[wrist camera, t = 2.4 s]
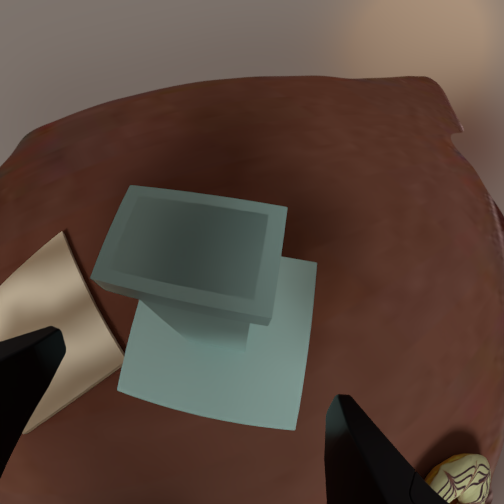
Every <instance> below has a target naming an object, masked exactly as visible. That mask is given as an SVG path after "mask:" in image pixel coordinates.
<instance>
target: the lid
mask: <svg viewBox="0 0 504 504" xmlns="http://www.w3.org/2000/svg"><path fill="white" fill-rule="evenodd" d="M287 208H288V207H284V206H278V205H272V204H266V203H260V202H254V201H248V200H242V199H235V198H229V197H222V196H215V195H208V194H201V193H194V192H186V191H178V190H170V189H162V188H153V187H144V186H134V185H130V187H129V189H128V191H127V193H126V195H125V197H124V199H123V201H122V203H121V205H120V207H119V209H118V211H117V213H116V216H115V218H114V220H113V222H112V225H111V227H110V229H109V232H108V234H107V236H106V239H105V241H104V243H103V246H102V248H101V251H100V253H99V256H98V259H97V261H96V264H95V266H94V269H93V272H92V275H91V277H90V278H91V279H92V280H93V281H94V282H96V283H97V284H98V285H99V286H100V287H102V288H103V289H104V290H106V291H110V292H114V293H117V294H121V295H125V296H128V297H132V298H136V299H139V303H138V306H137V310H136V313H135V317H134V320H133V324H132V328H131V332H130V335H129V339H128V343H127V347H126V351H125V356H124V360H123V364H122V369H121V373H120V378H119V383H118V388H117V391H120V392H123V393H125V394H128V395H131V396H134V397H137V398H140V399H143V400H146V401H149V402H152V403H155V404H158V405H162V406H165V407H169V408H172V409H176V410H180V411H183V412H187V413H191V414H195V415H200V416H204V417H209V418H213V419H218V420H223V421H228V422H234V423H240V424H246V425H253V426H260V427H267V428H276V429H286V430H295V428H296V423H297V417H298V412H299V406H300V400H301V394H302V388H303V381H304V375H305V368H306V361H307V354H308V346H309V338H310V330H311V321H312V312H313V303H314V293H315V282H316V270H317V263H316V262H310V261H304V260H299V259H293V258H287V257H281V253H282V246H283V239H284V231H285V224H286V216H287Z"/></svg>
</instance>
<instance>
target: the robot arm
mask: <svg viewBox="0 0 504 504" xmlns="http://www.w3.org/2000/svg"><path fill="white" fill-rule="evenodd" d="M65 354H66V345H65V341H64V338H63V334H62V331H61V330H60V329H59V328H56V327H54V326H48V327H45V328H42V329H39V330H36V331H33V332H29V333H26V334H23V335H20V336H17V337H14V338H10V339H7V340H4V341H1V342H0V478H1V476H2V473H3V471H4V469H5V467H6V466H5V465H6V464H7V462H8V460H9V458H10V456H11V454H12V452H13V450H14V448H15V446H16V444H17V442H18V440H19V438H20V436H21V434H22V432H23V430H24V429H25V427H26V425H27V423H28V421H29V419H30V418H31V416H32V414H33V412H34V411H35V409H36V407H37V406H38V404H39V402H40V400H41V399H42V397H43V395H44V394H45V392H46V391H47V389H48V387H49V385H50V383H51V381H52V379H53V377H54V375H55V373H56V371H57V369H58V367H59V365H60V363H61V361H62V360H63V358H64V356H65ZM324 461H325V477H326V494H327V504H449V503H448V502H447V501H446V500H444V499H443V498H442V497H441V496H440V495H439V494H438V493H437V492H436V491H434V490H433V489H432V488H431V487H430V486H429V485H428V483H427V482H426V481H425V480H424V479H423V478H422V477H421V476H420V475H419V474H418V473H417V472H415V469H414V468H413V467H412V466H411V465H410V464H409V463H408V461H407V460H406V459H405V458H404V457H403V456H402V455H401V454H400V452H399V451H398V450H397V449H396V448H395V447H394V446H393V444H392V443H391V442H390V441H389V440H388V439H387V438H386V436H385V435H384V434H383V433H382V432H381V431H380V429H379V428H378V427H377V426H376V425H375V424H374V423H373V421H372V420H371V419H370V418H369V417H368V416H367V414H366V413H365V412H364V411H363V410H362V409H361V407H360V406H359V405H358V404H357V403H356V402H355V400H354V399H353V398H352V397H351V396H350V395H342V394H338V395H336V396H335V398H334V399H333V401H332V403H331V405H330V407H329V409H328V411H327V414H326V432H325V455H324Z"/></svg>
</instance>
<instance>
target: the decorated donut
mask: <svg viewBox="0 0 504 504" xmlns="http://www.w3.org/2000/svg"><path fill="white" fill-rule="evenodd" d="M490 477H491V476H490V466H489V463H488V461H487V459H486V458H485V457H484V456H482V455H479V454H465V453H463V454H459V455H453V456H452V457H450V458H448V459H447V460H445V461H443V462H441V463H440V464H438V465H437V466H435V467H434V468H433V469H432V470H431V471H430V473H429V474H428V475H427V476H426V478H425V479H424V480H425V481H426V482H427V483H428V485H429V486H430V487H431V488H432V489H433V490H434V491H436V492H437V493H438V494H439V495H440V496H441V497H442V498H443V499H444V500H446V501H447V502H448V503H449V504H484V502H485V500H486V498H487V495H488V492H489V485H490Z"/></svg>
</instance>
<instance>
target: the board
mask: <svg viewBox="0 0 504 504" xmlns="http://www.w3.org/2000/svg"><path fill="white" fill-rule="evenodd" d="M48 326H54V327H56V328H59V329H60V330H61V331H62V334H63V338H64V341H65V345H66V354H65V356H64V358H63V360H62V361H61V363H60V365H59V367H58V369H57V371H56V373H55V375H54V377H53V379H52V381H51V383H50V385H49V387H48V389H47V391H46V392H45V394H44V395H43V397H42V399H41V400H40V402H39V404H38V406H37V407H36V409H35V411H34V412H33V414H32V416H31V418H30V419H29V421H28V423H27V425H26V427H25V429H24V430H23V432H22V433H23V434H27V433H29V432H30V431H32V430H33V429H35V428H36V427H37V426H39V425H40V424H42V423H43V422H45V421H46V420H47V419H49V418H50V417H52V416H53V415H55V414H56V413H57V412H59V411H60V410H62V409H63V408H64V407H66V406H67V405H69V404H70V403H72V402H73V401H74V400H76V399H77V398H79V397H80V396H81V395H83V394H84V393H86V392H87V391H88V390H90V389H91V388H93V387H94V386H95V385H97V384H98V383H100V382H101V381H102V380H104V379H105V378H106V377H108V376H109V375H111V374H112V373H113V372H115V371H116V370H118V369H119V368H120V367H122V364H123V360H124V356H125V354H124V352H123V350H122V349H121V347H120V345H119V344H118V342H117V340H116V339H115V337H114V335H113V334H112V332H111V330H110V329H109V327H108V325H107V323H106V321H105V320H104V318H103V316H102V314H101V312H100V310H99V308H98V307H97V305H96V303H95V301H94V299H93V297H92V295H91V293H90V291H89V289H88V287H87V285H86V283H85V280H84V278H83V276H82V274H81V272H80V270H79V267H78V265H77V263H76V260H75V258H74V256H73V253H72V251H71V249H70V246H69V244H68V241H67V239H66V236H65V234H64V233H63V232H62V231H61V232H60V233H59V234H58V235H56V236H55V237H54V238H53V239H51V240H50V241H49V242H48V243H47V244H45V245H44V246H43V247H42V248H41V249H40V250H38V251H37V252H36V253H35V254H34V255H33V256H31V257H30V258H29V259H28V260H27V261H26V262H25V263H24V264H23V265H22V266H20V267H19V268H18V269H17V270H16V271H15V272H14V273H13V274H12V275H11V276H10V277H9V278H8V279H7V280H6V281H5V282H4V283H3V284H2V285H1V286H0V342H1V341H4V340H7V339H10V338H14V337H17V336H20V335H23V334H26V333H29V332H33V331H36V330H39V329H42V328H45V327H48Z"/></svg>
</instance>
